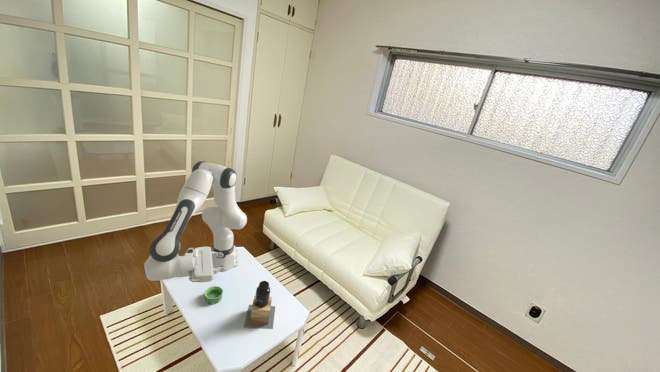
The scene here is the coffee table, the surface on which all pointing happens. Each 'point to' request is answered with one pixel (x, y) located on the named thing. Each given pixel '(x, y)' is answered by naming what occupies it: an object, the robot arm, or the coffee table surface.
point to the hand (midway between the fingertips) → (223, 261)
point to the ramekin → (213, 294)
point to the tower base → (259, 320)
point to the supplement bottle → (262, 294)
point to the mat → (264, 326)
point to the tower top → (261, 309)
